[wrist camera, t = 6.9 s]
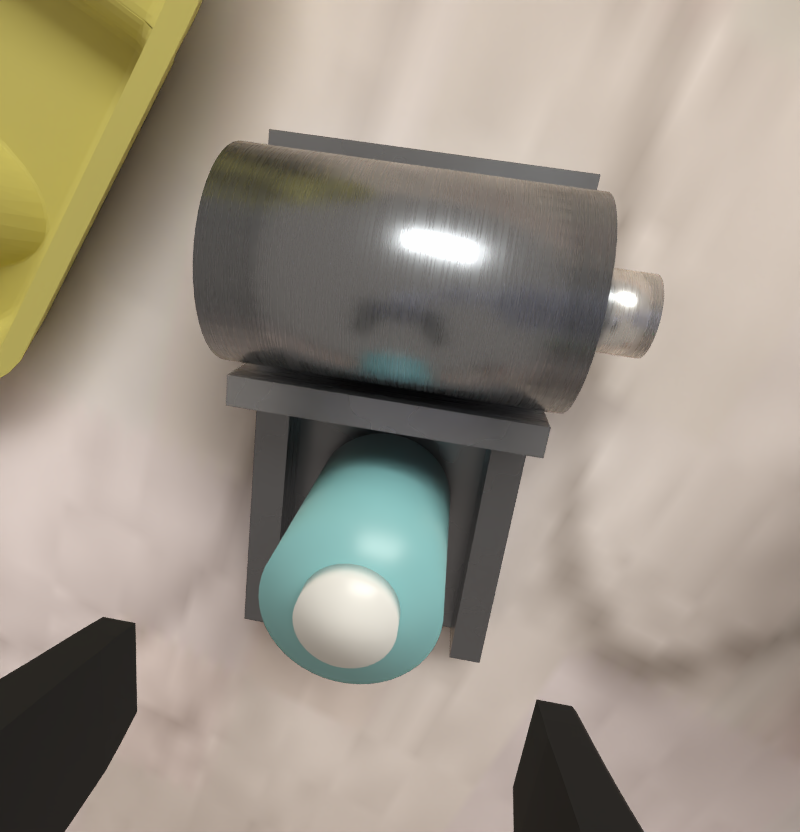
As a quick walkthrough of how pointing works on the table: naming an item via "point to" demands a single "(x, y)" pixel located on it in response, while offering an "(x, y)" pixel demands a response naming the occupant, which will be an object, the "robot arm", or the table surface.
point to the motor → (408, 324)
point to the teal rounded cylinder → (363, 564)
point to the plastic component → (68, 133)
